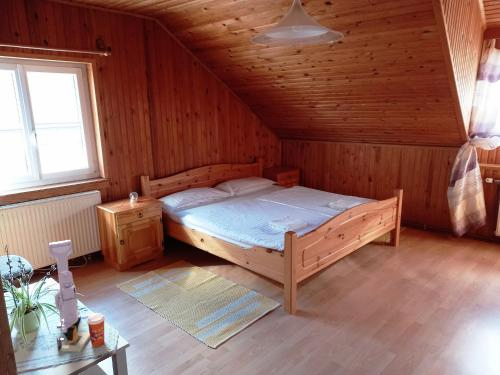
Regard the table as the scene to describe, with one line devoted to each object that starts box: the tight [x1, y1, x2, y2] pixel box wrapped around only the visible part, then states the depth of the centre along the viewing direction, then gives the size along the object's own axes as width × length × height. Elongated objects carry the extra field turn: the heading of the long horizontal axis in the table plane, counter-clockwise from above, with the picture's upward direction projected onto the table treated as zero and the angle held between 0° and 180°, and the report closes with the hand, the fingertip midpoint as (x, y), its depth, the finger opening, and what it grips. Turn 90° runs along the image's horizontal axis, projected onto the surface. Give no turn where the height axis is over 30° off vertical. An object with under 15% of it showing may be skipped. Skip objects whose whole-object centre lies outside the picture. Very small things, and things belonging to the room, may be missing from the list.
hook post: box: [56, 337, 65, 351], centre depth 167 cm, size 2×3×5 cm, turn 91°
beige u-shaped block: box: [60, 331, 90, 353], centre depth 172 cm, size 12×9×2 cm
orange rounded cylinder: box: [66, 325, 79, 344], centre depth 170 cm, size 4×4×6 cm
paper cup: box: [86, 312, 106, 348], centre depth 170 cm, size 8×8×14 cm
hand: (72, 336), depth 170 cm, fingers closed on orange rounded cylinder, 4 cm apart
